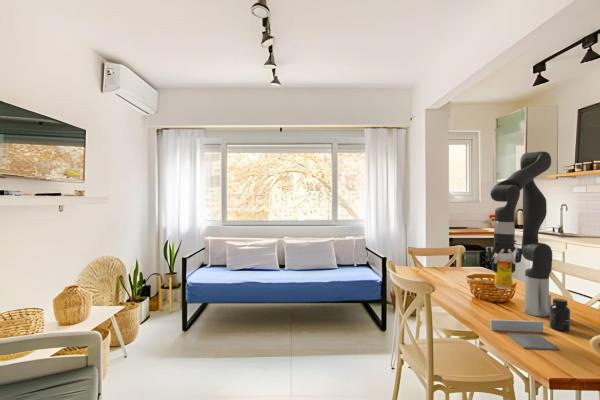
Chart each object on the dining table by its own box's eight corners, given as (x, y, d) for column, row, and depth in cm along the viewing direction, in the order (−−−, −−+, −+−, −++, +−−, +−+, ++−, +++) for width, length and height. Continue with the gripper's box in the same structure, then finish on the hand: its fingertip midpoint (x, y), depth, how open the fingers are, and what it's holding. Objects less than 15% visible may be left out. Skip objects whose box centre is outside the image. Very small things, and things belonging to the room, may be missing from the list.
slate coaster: (539, 336, 134) (539, 334, 134) (559, 350, 122) (559, 348, 122) (507, 334, 135) (507, 333, 135) (523, 348, 123) (523, 346, 123)
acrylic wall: (541, 331, 139) (541, 321, 139) (543, 332, 138) (543, 322, 138) (490, 329, 141) (490, 319, 141) (491, 330, 140) (491, 320, 140)
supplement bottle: (571, 333, 137) (571, 303, 137) (550, 329, 141) (550, 300, 140) (568, 327, 143) (569, 299, 143) (548, 324, 146) (549, 296, 146)
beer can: (505, 290, 140) (506, 253, 140) (491, 286, 146) (492, 251, 145) (514, 288, 143) (515, 252, 143) (500, 285, 148) (501, 250, 148)
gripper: (517, 231, 147) (517, 270, 147) (482, 231, 148) (481, 269, 149) (527, 233, 139) (526, 274, 139) (489, 232, 141) (489, 273, 141)
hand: (503, 271), depth 144 cm, fingers closed on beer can, 6 cm apart
